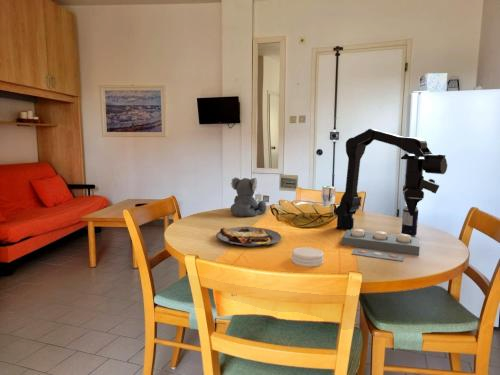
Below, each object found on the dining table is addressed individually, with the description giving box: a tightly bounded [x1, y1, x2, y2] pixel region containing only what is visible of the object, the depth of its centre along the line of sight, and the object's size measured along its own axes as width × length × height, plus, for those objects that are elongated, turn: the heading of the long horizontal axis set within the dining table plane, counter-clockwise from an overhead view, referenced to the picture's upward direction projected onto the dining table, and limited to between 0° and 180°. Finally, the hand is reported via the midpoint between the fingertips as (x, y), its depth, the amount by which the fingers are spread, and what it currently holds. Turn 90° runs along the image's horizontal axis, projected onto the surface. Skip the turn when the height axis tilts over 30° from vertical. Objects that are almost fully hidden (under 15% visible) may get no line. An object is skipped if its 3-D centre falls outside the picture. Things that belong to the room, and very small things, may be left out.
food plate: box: [215, 226, 282, 248], centre depth 135 cm, size 25×23×4 cm
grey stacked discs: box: [291, 246, 324, 268], centre depth 111 cm, size 10×10×4 cm
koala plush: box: [229, 177, 267, 218], centre depth 179 cm, size 17×18×20 cm
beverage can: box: [400, 205, 419, 237], centre depth 143 cm, size 6×6×12 cm
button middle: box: [373, 230, 388, 240], centre depth 129 cm, size 4×4×3 cm
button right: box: [397, 233, 411, 243], centre depth 126 cm, size 4×4×3 cm
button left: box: [351, 228, 365, 237], centre depth 132 cm, size 4×4×3 cm
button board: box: [341, 229, 421, 256], centre depth 129 cm, size 26×12×3 cm, turn 66°
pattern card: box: [351, 247, 404, 262], centre depth 119 cm, size 16×7×1 cm, turn 66°
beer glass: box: [320, 185, 336, 206], centre depth 178 cm, size 7×7×15 cm
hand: (411, 213), depth 131 cm, fingers open, 9 cm apart
